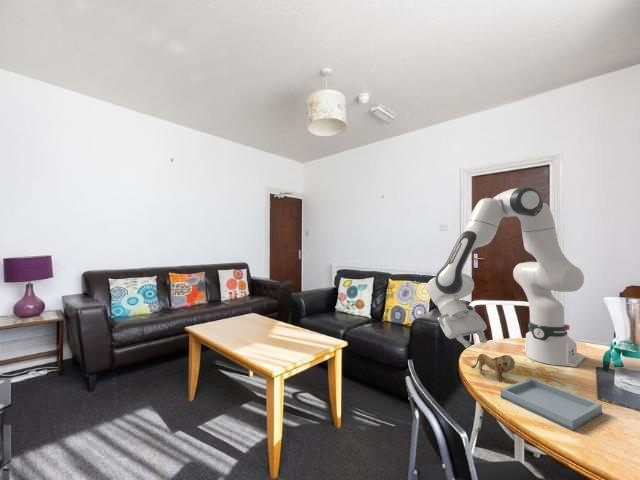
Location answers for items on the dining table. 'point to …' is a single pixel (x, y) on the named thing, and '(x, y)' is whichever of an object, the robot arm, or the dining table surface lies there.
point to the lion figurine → (496, 364)
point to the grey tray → (552, 403)
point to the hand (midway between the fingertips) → (477, 344)
